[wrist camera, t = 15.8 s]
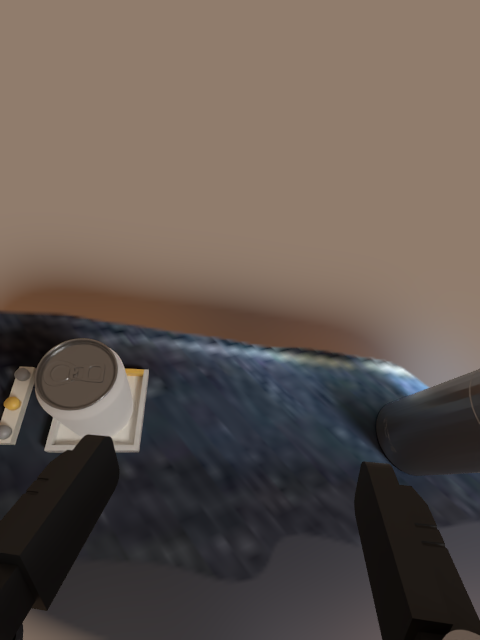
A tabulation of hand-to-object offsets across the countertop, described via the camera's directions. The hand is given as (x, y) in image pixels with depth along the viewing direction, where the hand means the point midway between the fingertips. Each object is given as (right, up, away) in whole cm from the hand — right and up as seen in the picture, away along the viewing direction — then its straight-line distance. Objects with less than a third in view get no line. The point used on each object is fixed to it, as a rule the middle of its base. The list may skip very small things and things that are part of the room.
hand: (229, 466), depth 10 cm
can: (-15, -5, +23) cm, 28 cm away
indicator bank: (-23, -4, +22) cm, 32 cm away
